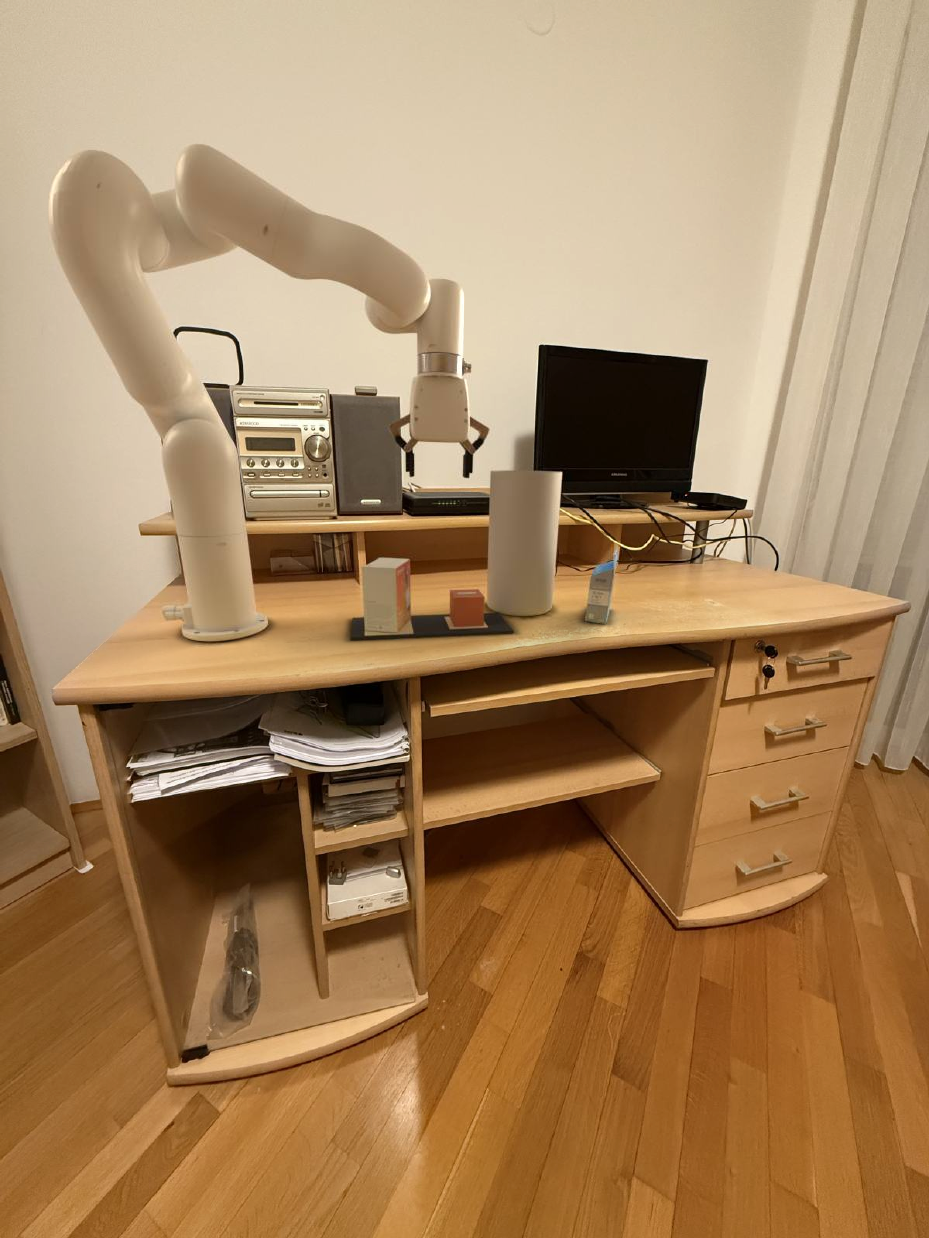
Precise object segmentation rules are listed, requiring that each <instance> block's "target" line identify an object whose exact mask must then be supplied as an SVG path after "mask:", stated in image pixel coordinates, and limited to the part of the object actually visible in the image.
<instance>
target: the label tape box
mask: <svg viewBox="0 0 929 1238" xmlns="http://www.w3.org/2000/svg"><path fill="white" fill-rule="evenodd" d="M618 551H619V549H618V546H616V549H615V551H614V553H613V554H612V557H613V558H612V560H611V561H608V562H605V563H601V564H598V565H595V566H594V569H593V572H592V574H591V576H590V581H589V587H588V594H587V595H588V596H587V603H586V609H585V610H586V611H585V617H584V618H585V619H584V620H585V621H586V622H591V623H596V624H603V625H606V624H607V623H608V618H609V614H610V610H611V605H612V604H611V603H612V602H611V601H612V596H613V590H614V583H615V576H616V575H615V574H616V568H617V564H618Z"/></svg>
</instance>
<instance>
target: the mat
mask: <svg viewBox="0 0 929 1238" xmlns="http://www.w3.org/2000/svg"><path fill="white" fill-rule="evenodd" d="M502 634H503V635H505V634H514V629H513V628H512V627H511V626H510V624H509V623H508V622H507V620H505V618H504V617H503V616H502V614H501V613H499V612H495V611H493V612H484V626H466V627H454V626H453V623H452V621H451V619H450V613H444V614H442V613H441V614H415V615H414V614H413V615H411V619H410V620H409V621H408V622H407V623H406V624H405V625H404V626H403V627H402V628H401V629H400V630H399V632H398V633H393V632H378V631H365V623H364V616H363V617H361V616H360V617H352V622H351V628H350V636H349V640H350V641H366V640H367V641H368V640H391V639H412V638H434V637H435V638H436V637H437V638H438V637H460V636H478V635H479V636H480V635H502Z"/></svg>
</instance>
